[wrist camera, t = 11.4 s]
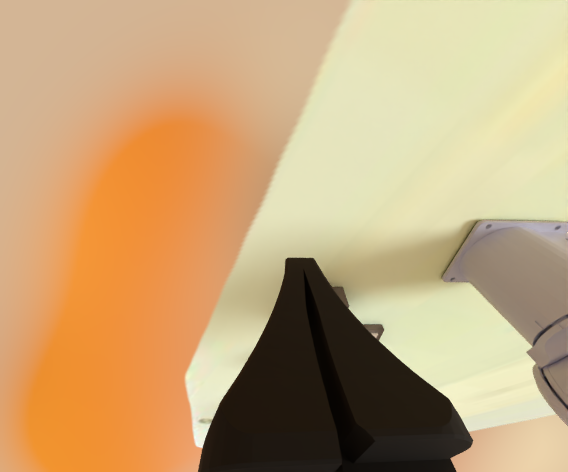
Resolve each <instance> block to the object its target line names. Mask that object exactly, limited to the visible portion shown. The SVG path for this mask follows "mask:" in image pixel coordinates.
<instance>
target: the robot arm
mask: <svg viewBox="0 0 568 472" xmlns="http://www.w3.org/2000/svg"><path fill="white" fill-rule="evenodd" d="M442 280H443V281H444V282H470V283H471V284H472V285H473V286H474V287H475V288H476V289H477V290H478V291H479V292H480V293H481V294H482V296H483V297H484V298H485V299H486V300H487V301H488V302H489V303H490V304H491V305H492V306H493V307H494V308H495V309H496V310H497V311H498V312H499V313H500V314H501V315H502V316H503V317H504V318H505V319H506V320H507V321H508V322H509V323H510V324H511V325H512V326H513V327H514V328H515V329H516V330H517V331H518V332H519V333H520V334H521V335H522V336H523V337H524V338H525V339H526V341H527V342H528V343H529V344H530V345H531V346H532V348H531V349H530V350H528V351H527V352H526V353H527V354H528V355H529V356H530V357H531V358H532V359H533V360H534V361H535V362H536V363H537V364H535V365H534V366H533V375H534V378H535V381H536V384H537V387H538V389H539V391H540V393H541V394H542V396H543V397H544V399H545V400H546V402H547V403H548V404H549V406H550V407H551V408H552V409H553V410H554V412H555V413H556V414H557V415H558V416H559V417H560V418H561V419H562V420H563V422H564V423H565V424H566V425H567V426H568V222H560V221H509V220H481V221H479V222H477V223H476V225H475V226H474V228H473V230H472V231H471V233H470V234H469V236H468V237H467V239H466V240H465V242H464V244H463V245H462V247H461V248H460V250H459V251H458V253H457V255H456V256H455V258H454V259H453V261H452V262H451V264H450V265H449V267H448V269H447V270H446V272H445V273H444V275H443V276H442ZM472 442H473V439H472V438H471V436H470V434H469V432H468V430H467V429H466V427H465V425H464V423H463V421H462V419H461V417H460V416H459V414H458V412H457V411H456V409H455V408H454V406H453V405H452V403H451V401H450V400H449V399H448V398H447V397H446V396H444V395H443V394H442V393H440V392H439V391H438V390H436V389H435V388H434V387H433V386H431V385H430V384H429V383H427V382H426V381H425V380H423V379H422V378H421V377H419V376H418V375H417V374H416V373H414V372H413V371H412V370H411V369H410V368H408V367H407V366H406V365H405V364H404V363H402V362H401V361H400V360H399V359H398V358H397V357H396V356H395V355H393V354H392V353H391V352H390V351H389V350H388V349H387V348H386V347H385V346H384V345H383V344H382V343H380V342H379V341H378V340H377V339H376V338H375V337H374V336H373V335H372V334H371V333H370V332H369V331H368V330H367V329H366V328H365V327H364V326H363V325H362V323H361V322H360V321H359V320H358V319H357V318H356V317H355V316H354V315H353V313H352V312H351V311H350V310H349V309H348V307H347V306H346V305H345V304H344V302H343V301H342V300H341V299H340V297H339V296H338V295H337V293H336V292H335V291H334V289H333V288H332V286H331V285H330V284H329V282H328V281H327V279H326V278H325V276H324V274H323V273H322V271H321V270H320V268H319V266H318V265H317V263H316V261H315V260H314V258H287V259H286V261H285V274H284V279H283V282H282V286H281V289H280V293H279V295H278V298H277V301H276V304H275V306H274V309H273V311H272V314H271V316H270V318H269V320H268V323H267V325H266V327H265V329H264V331H263V333H262V335H261V337H260V339H259V341H258V343H257V344H256V346H255V348H254V350H253V352H252V353H251V355H250V357H249V358H248V360H247V362H246V363H245V365H244V367H243V368H242V370H241V372H240V373H239V375H238V377H237V378H236V380H235V381H234V383H233V384H232V386H231V387H230V389H229V390H228V392H227V393H226V395H225V396H224V398H223V399H222V401H221V402H220V404H219V407H218V409H217V411H216V413H215V416H214V418H213V420H212V423H211V425H210V428H209V430H208V433H207V436H206V439H205V442H204V445H203V449H202V454H201V459H200V464H199V470H198V472H456V470H455V468H454V465H453V463H452V461H451V459H450V458H451V457H453V456H455V455H457V454H460V453H462V452H464V451H466V450H467V449H469V448H470V447H471V445H472Z"/></svg>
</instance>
